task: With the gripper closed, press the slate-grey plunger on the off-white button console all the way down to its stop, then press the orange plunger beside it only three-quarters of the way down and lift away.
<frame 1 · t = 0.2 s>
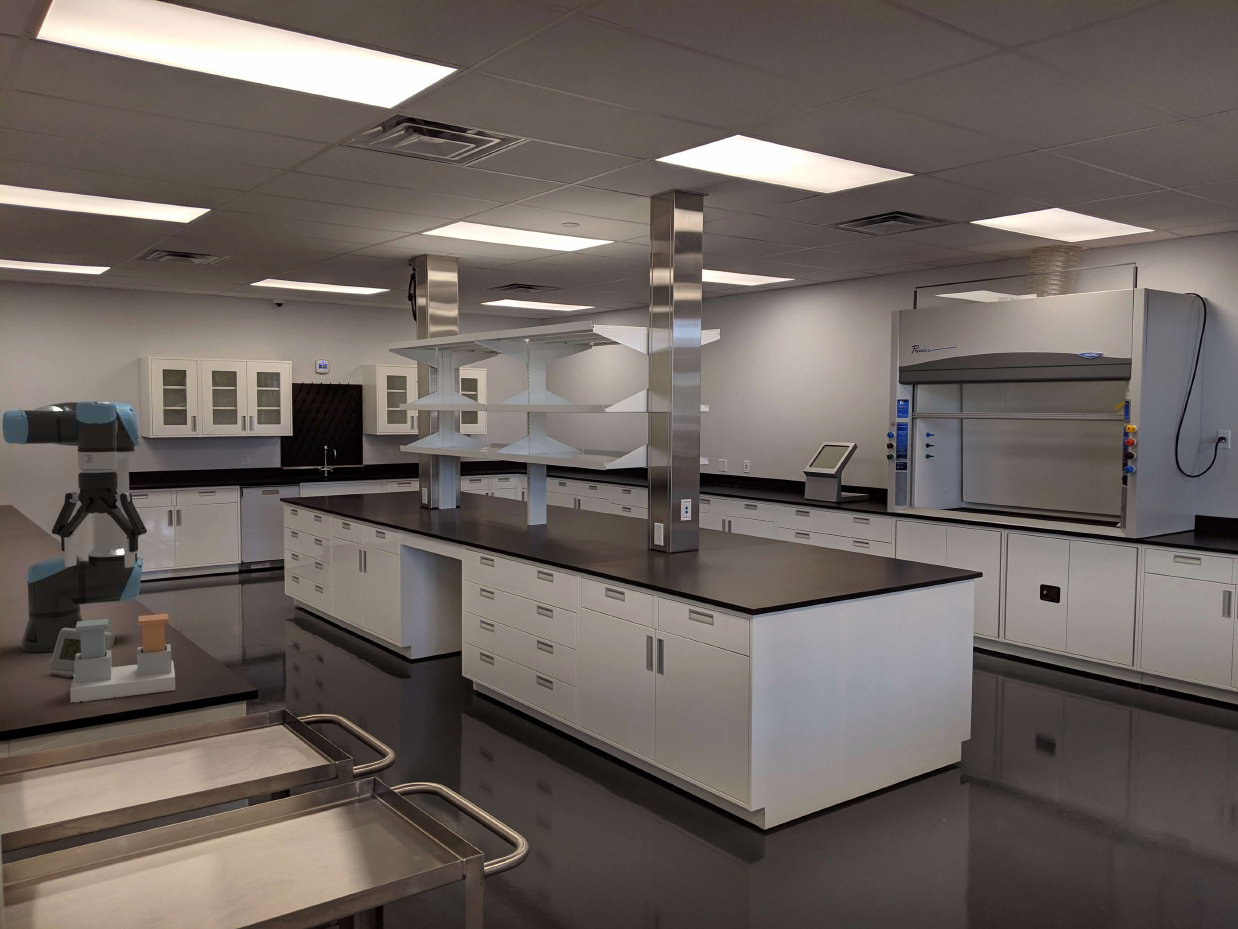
hand: (100, 566, 199), 28 cm above the counter, tool pointing down, fingers open, 13 cm apart
grey plunger: (92, 640, 199), point 11 cm above the counter, slide at 0.0 cm
button console: (124, 687, 202), on the counter
orange plunger: (153, 634, 204), point 11 cm above the counter, slide at 0.0 cm
digital clock: (82, 676, 211), on the counter
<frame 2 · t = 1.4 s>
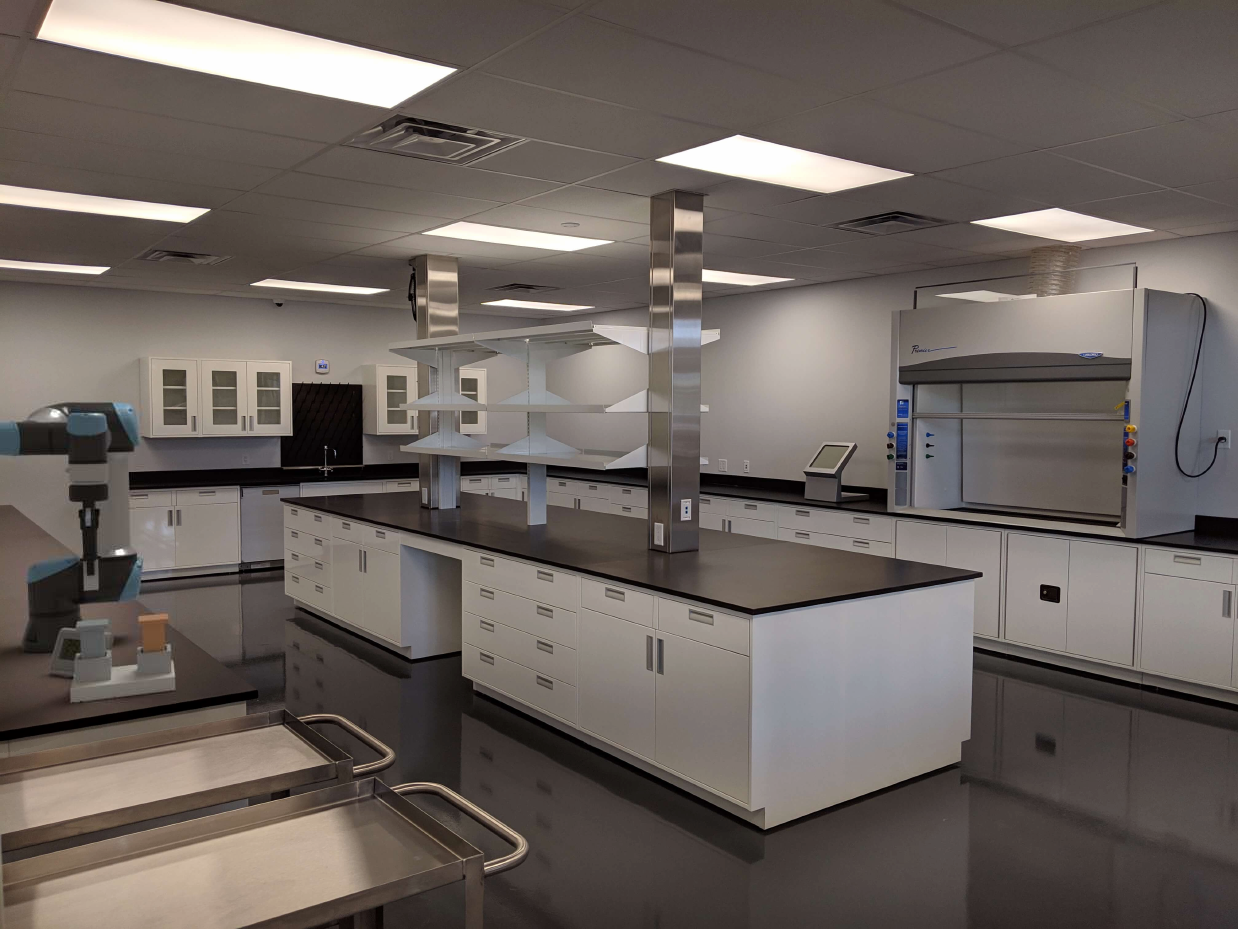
hand: (91, 589, 198), 23 cm above the counter, tool pointing down, fingers closed
nothing on the counter moved.
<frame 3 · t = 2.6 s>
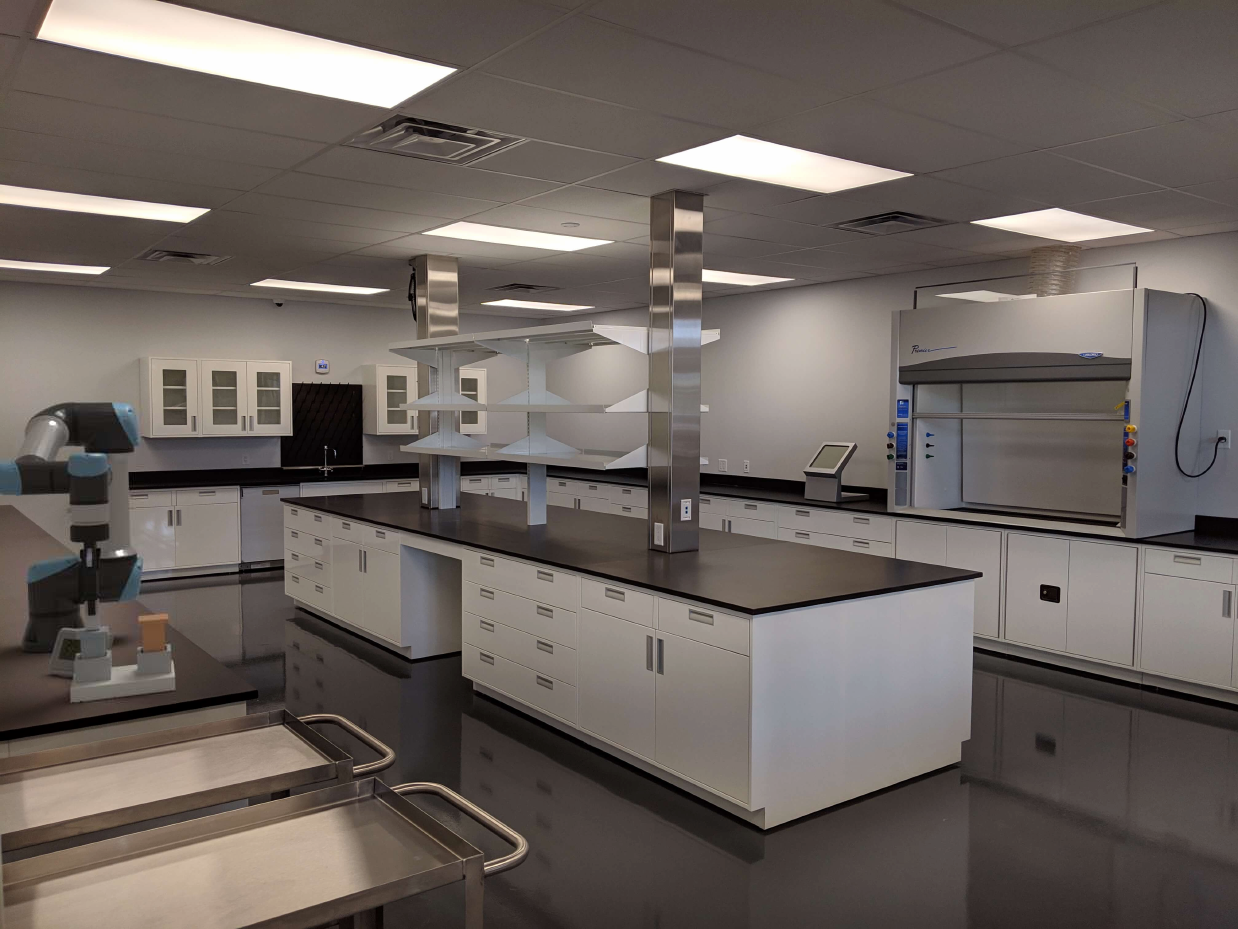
hand: (92, 629, 199), 14 cm above the counter, tool pointing down, fingers closed
grey plunger: (93, 647, 199), point 10 cm above the counter, slide at 1.6 cm, touching gripper
everything else where it was.
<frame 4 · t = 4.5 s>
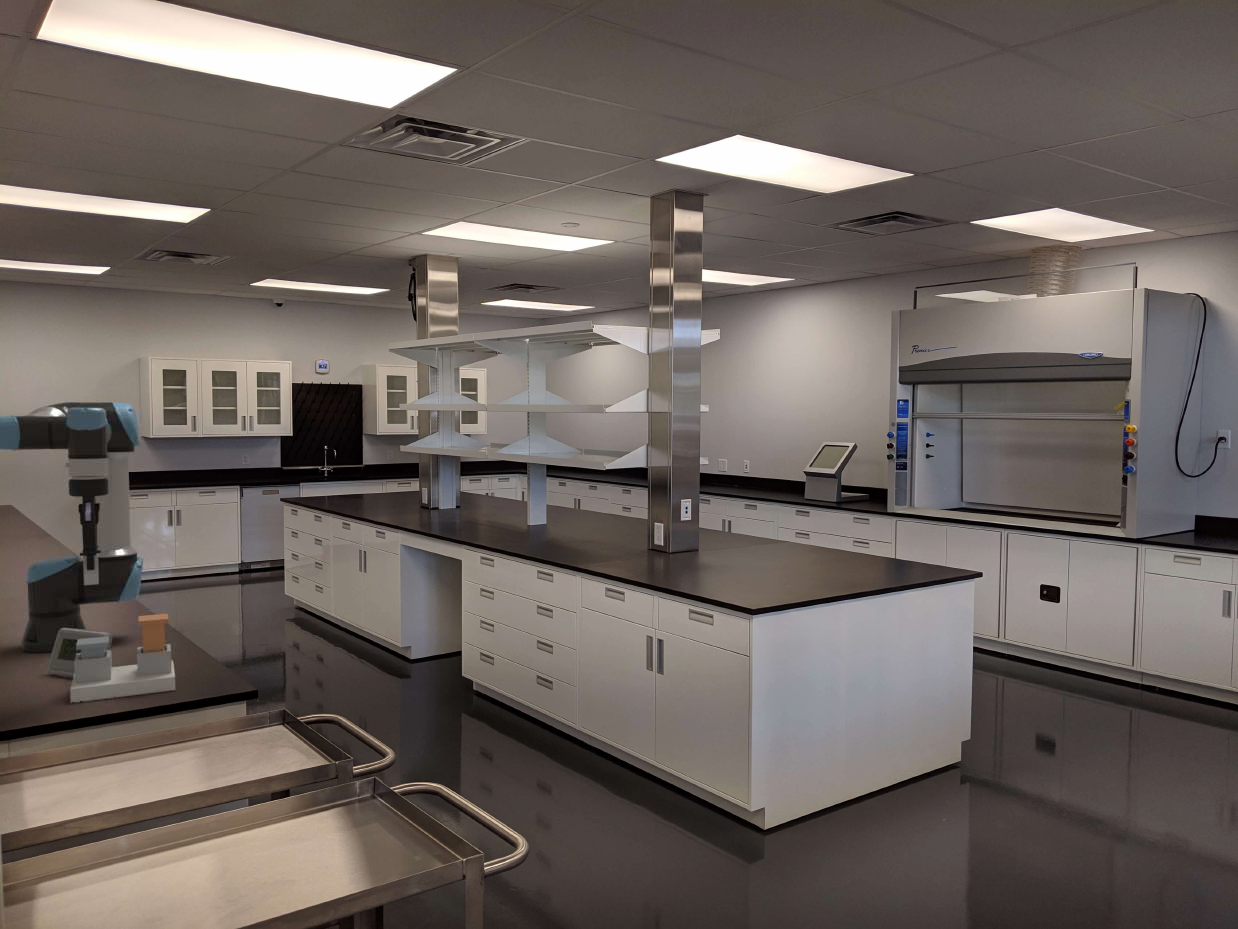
hand: (91, 583, 198), 24 cm above the counter, tool pointing down, fingers closed
grey plunger: (93, 658, 199), point 7 cm above the counter, slide at 4.0 cm
everything else where it was.
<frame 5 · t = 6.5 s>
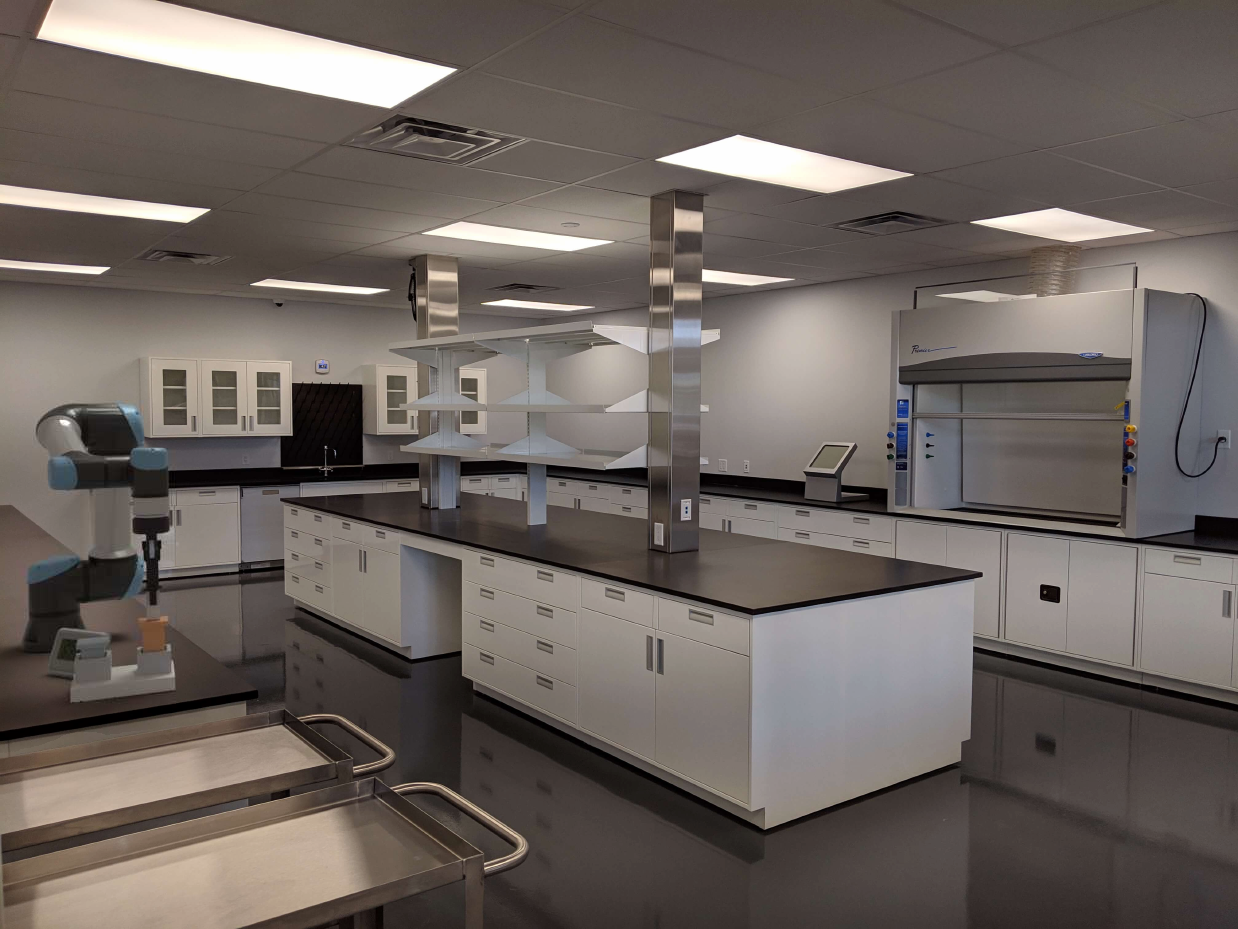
hand: (153, 618, 204), 15 cm above the counter, tool pointing down, fingers closed
orange plunger: (153, 637, 204), point 11 cm above the counter, slide at 0.5 cm, touching gripper
everything else where it was.
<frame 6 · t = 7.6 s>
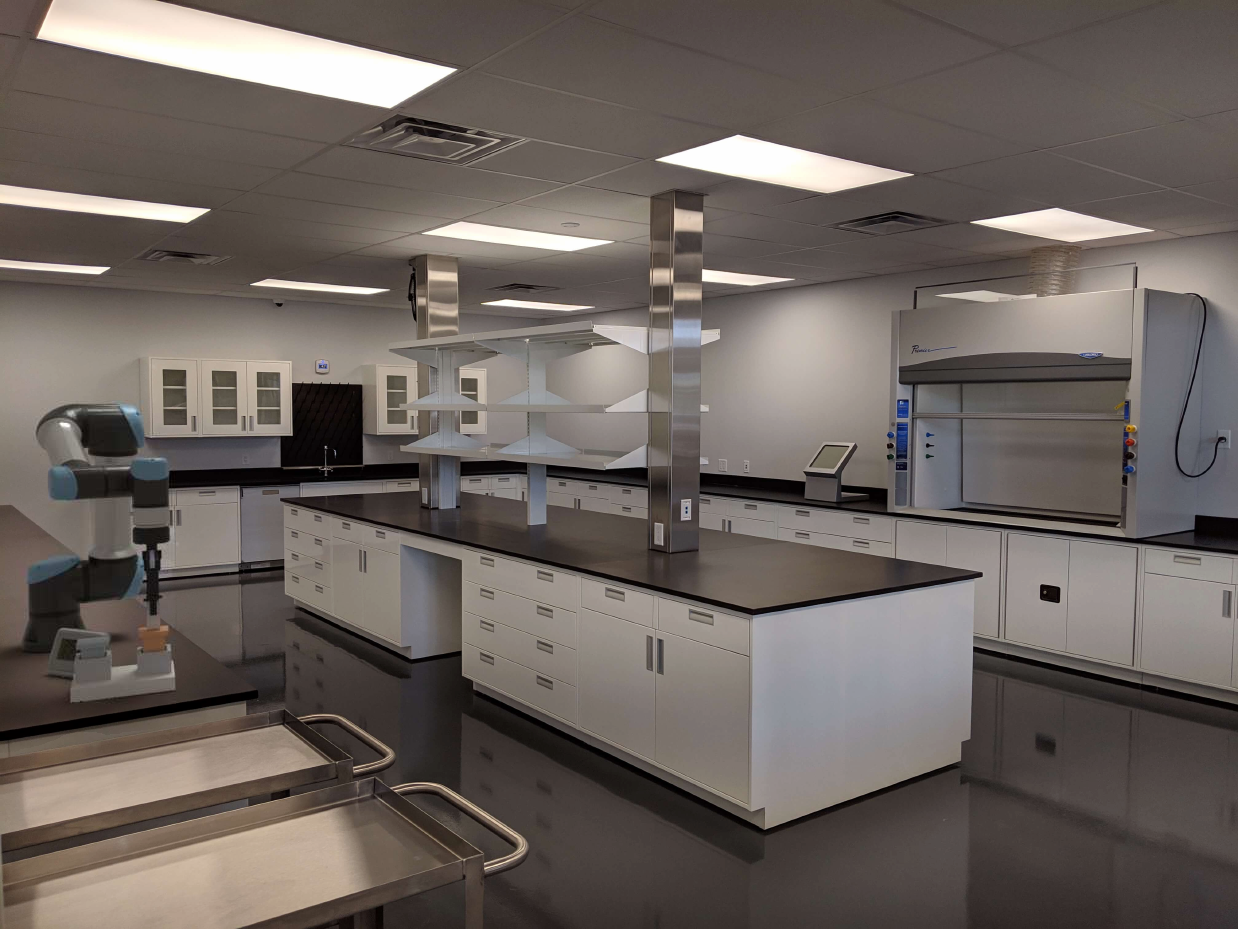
hand: (153, 628, 204), 13 cm above the counter, tool pointing down, fingers closed
orange plunger: (154, 646, 205), point 9 cm above the counter, slide at 2.7 cm, touching gripper
everything else where it was.
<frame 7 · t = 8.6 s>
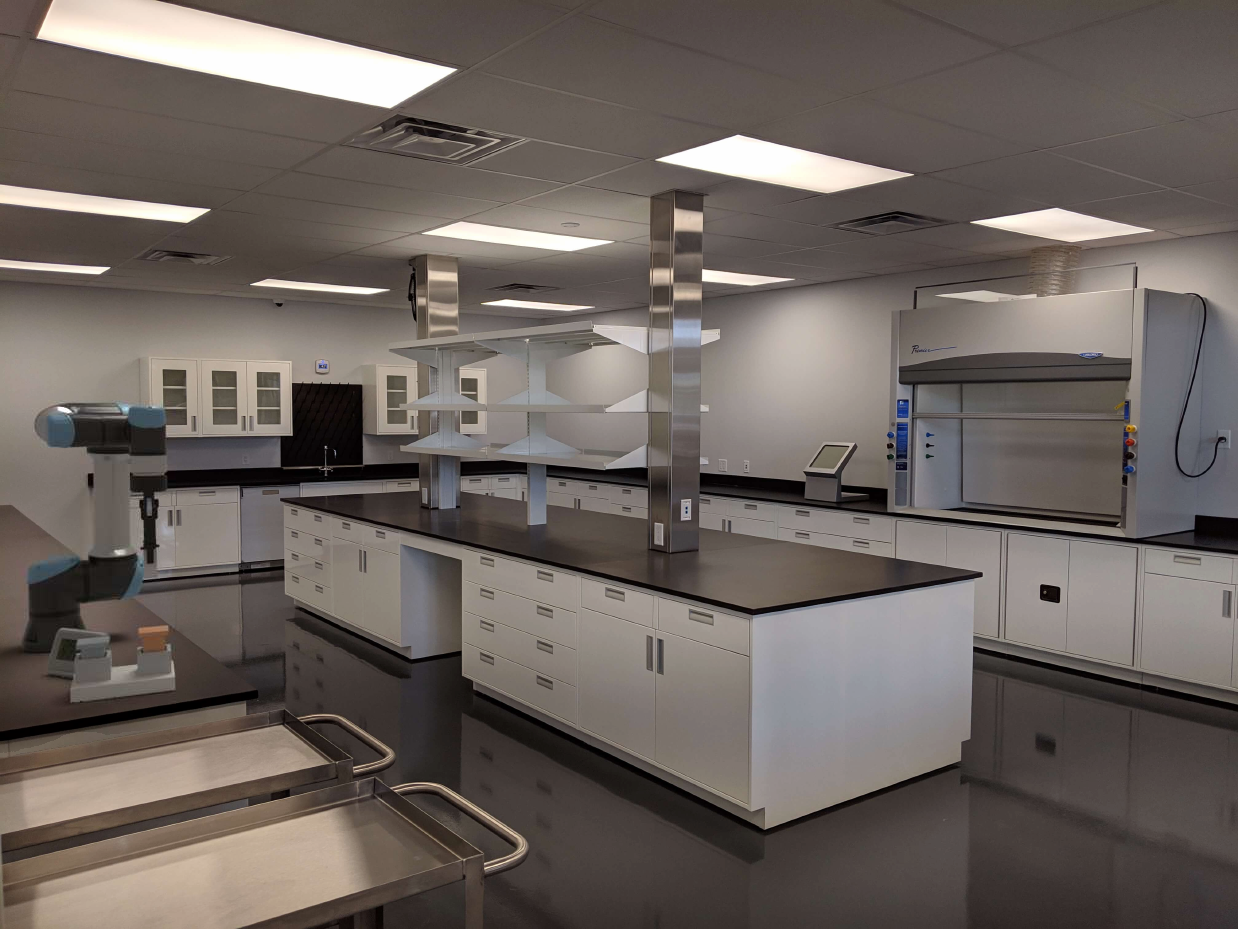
hand: (150, 577, 204), 24 cm above the counter, tool pointing down, fingers closed
orange plunger: (154, 646, 205), point 9 cm above the counter, slide at 2.7 cm
everything else where it was.
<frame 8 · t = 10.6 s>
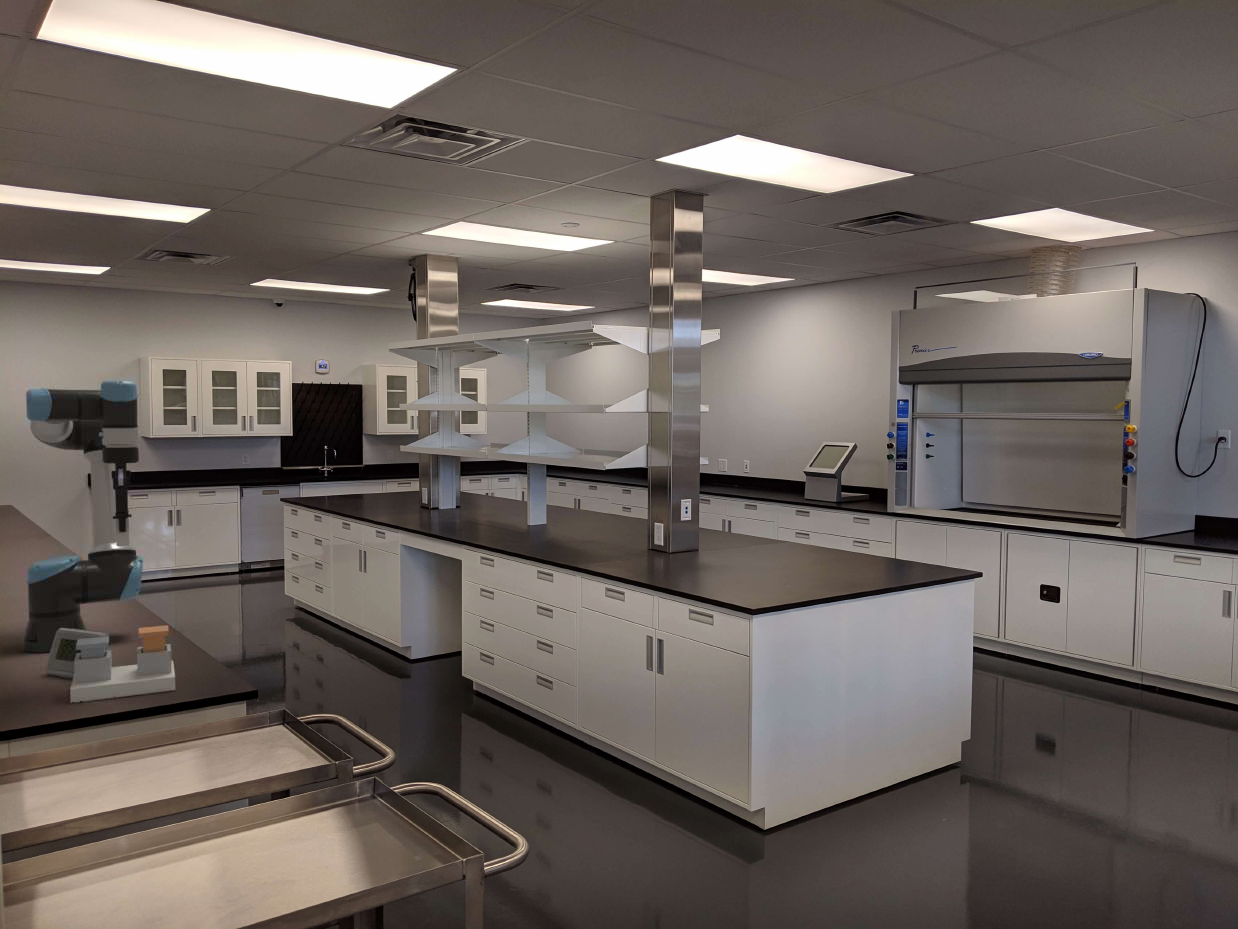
hand: (122, 545, 213), 30 cm above the counter, tool pointing down, fingers closed
nothing on the counter moved.
at the end: grey plunger slide at 4.0 cm; orange plunger slide at 2.7 cm; digital clock moved 1.0 cm from its start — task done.
